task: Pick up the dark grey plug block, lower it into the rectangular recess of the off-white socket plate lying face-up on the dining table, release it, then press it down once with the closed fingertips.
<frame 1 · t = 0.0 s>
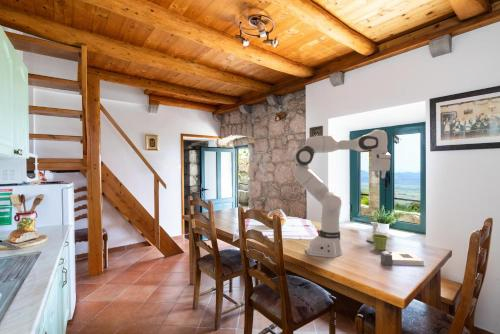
hand: (380, 177, 153), 48 cm above the table, fingers open, 8 cm apart
plant pot: (380, 249, 163), on the table
plug: (386, 264, 138), on the table
socket plate: (402, 260, 143), on the table
flower in vase: (373, 241, 179), on the table
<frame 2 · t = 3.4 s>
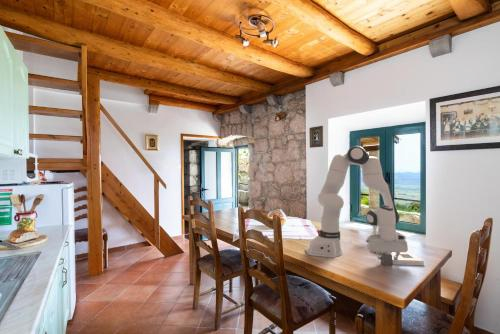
hand: (387, 259, 138), 2 cm above the table, fingers open, 7 cm apart
nothing on the table moved.
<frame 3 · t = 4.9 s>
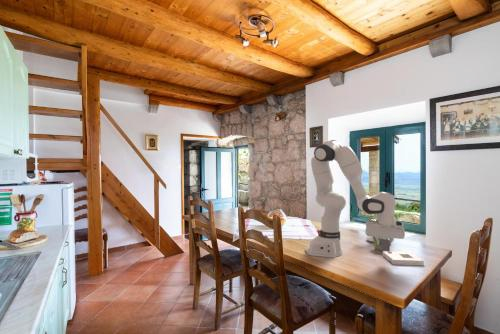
hand: (383, 245, 139), 10 cm above the table, fingers closed on plug, 4 cm apart
plug: (383, 249, 139), point 8 cm above the table, touching gripper
everything else where it was.
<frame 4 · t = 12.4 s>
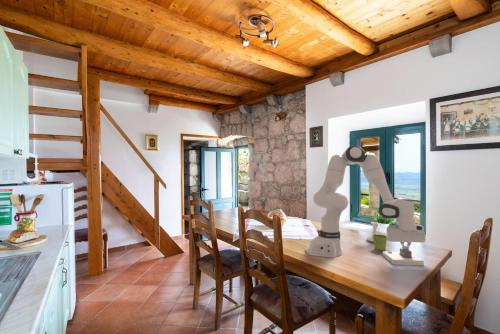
hand: (405, 249, 143), 6 cm above the table, fingers closed, pressing on plug
plug: (405, 260, 143), resting in socket plate, touching gripper
everything else where it was.
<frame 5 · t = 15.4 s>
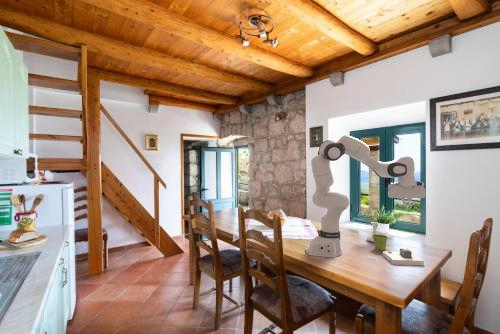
hand: (406, 205, 150), 31 cm above the table, fingers closed
plug: (405, 260, 143), resting in socket plate
everything else where it was.
at the end: plug 0.0 cm from the target spot on the socket plate, point 0.0 cm above the socket plate's base; plug tilted 0°; the gripper is holding nothing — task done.
